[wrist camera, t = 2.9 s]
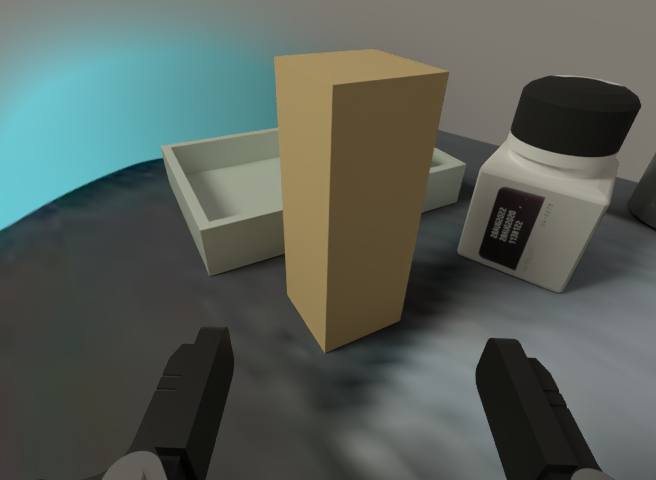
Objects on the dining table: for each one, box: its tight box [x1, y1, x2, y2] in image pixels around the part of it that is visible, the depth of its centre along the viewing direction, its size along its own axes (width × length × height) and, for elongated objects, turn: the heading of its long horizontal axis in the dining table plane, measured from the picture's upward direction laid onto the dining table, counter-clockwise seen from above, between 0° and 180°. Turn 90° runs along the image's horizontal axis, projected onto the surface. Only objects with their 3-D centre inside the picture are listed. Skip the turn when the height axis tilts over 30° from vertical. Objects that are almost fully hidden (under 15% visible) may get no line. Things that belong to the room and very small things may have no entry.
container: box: [457, 75, 641, 293], centre depth 27 cm, size 8×8×13 cm
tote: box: [161, 128, 466, 276], centre depth 37 cm, size 24×16×4 cm, turn 118°
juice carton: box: [274, 49, 449, 353], centre depth 21 cm, size 6×6×15 cm
